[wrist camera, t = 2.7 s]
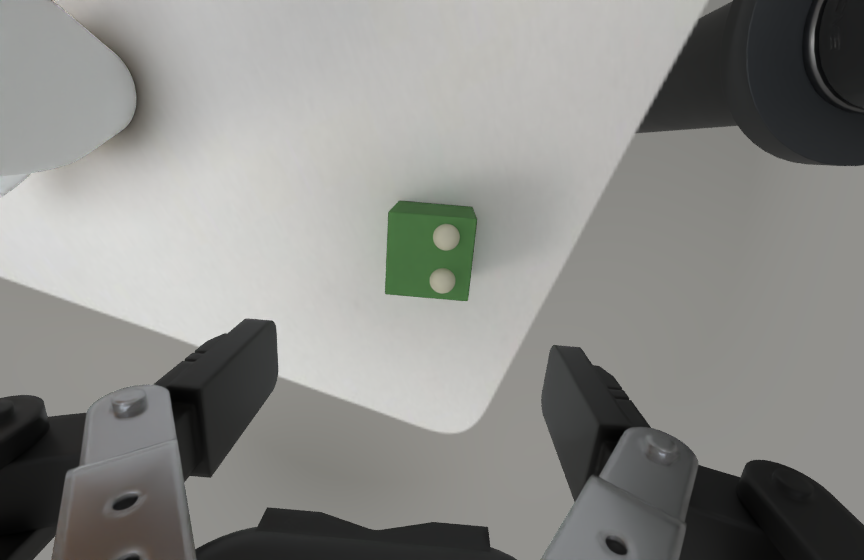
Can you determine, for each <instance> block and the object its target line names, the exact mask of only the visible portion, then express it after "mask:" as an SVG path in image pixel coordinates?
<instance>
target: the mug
mask: <svg viewBox="0 0 864 560" xmlns="http://www.w3.org/2000/svg"><path fill="white" fill-rule="evenodd" d="M135 109H136V89H135V85H134V81H133V79H132V76H131V74H130V72H129V70H128V68H127V67H126V65H125V64H124V62H123V61H122V60H121V59H120V58H119V57H118V56H117V55H116V54H115V53H114V52H113V51H112V50H111V49H109V48H108V47H107V46H106V45H105V44H103V43H102V42H101V41H100V40H99V39H98V38H96V37H95V36H94V35H93V34H92V33H91V32H89V31H88V30H87V29H86V28H85V27H84V26H82V25H81V24H80V23H79V22H78V21H77V20H75V19H74V18H73V17H72V16H71V15H70V14H68V13H67V12H66V11H65V10H64V9H62V8H61V7H60V6H58V5H57V4H56V3H54V2H53V1H52V0H0V197H2V196H4V195H5V194H7V193H8V192H10V191H11V190H13V189H14V188H15V187H16V186H18V185H19V184H20V183H21V182H23V181H24V180H25V179H26V178H27V177H28V176H29V175H30V174H31V173H35V172H41V171H46V170H51V169H55V168H59V167H62V166H65V165H68V164H71V163H73V162H75V161H77V160H79V159H81V158H83V157H84V156H86V155H87V154H89V153H90V152H92V151H93V150H94V149H96V148H97V147H99V146H100V145H102V144H103V143H104V142H106V141H107V140H109V139H110V138H112V137H113V136H114V135H116V134H117V133H119V132H120V131H122V130H123V129H124V128H125V127H126V126H127V125H128V124H129V123H130V121H131V120H132V118H133V115H134V113H135Z"/></svg>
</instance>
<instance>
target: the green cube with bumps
mask: <svg viewBox="0 0 864 560" xmlns="http://www.w3.org/2000/svg"><path fill="white" fill-rule="evenodd" d="M476 225H477V218H476V216H475V213H474V210H473V208H472V207H468V206H456V205H444V204H432V203H420V202H408V201H398V203H397V204H396V205H395V206H394V207H393V208H392V209H391V210H390V211H389V213H388V235H387V259H386V282H385V294H390V295H401V296H413V297H424V298H436V299H447V300H459V301H468V296H469V287H470V278H471V270H472V261H473V252H474V243H475V234H476Z"/></svg>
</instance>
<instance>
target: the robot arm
mask: <svg viewBox="0 0 864 560" xmlns="http://www.w3.org/2000/svg"><path fill="white" fill-rule="evenodd" d="M803 60H804V65H805V69H806V73H807V76H808V78H809V80H810V82H811V84H812V86H813V87H814V89H815V90H816V91H817V93H818V94H819V95H820V96H821V97H822V98H823V99H824V100H825V101H827V102H828V103H830V104H831V105H833V106H835V107H836V108H839V109H841V110H844V111H847V112H851V113H858V114H864V0H813V2H812V4H811V7H810V10H809V12H808V16H807V19H806V23H805V28H804V33H803ZM277 377H278V354H277V333H276V325H275V323H274V322H273V321H269V320H258V319H244V320H243V321H242V322H241V323H239V324H238V325H237V326H236V327H235V328H234V329H232V330H231V331H230V332H229V333H228V334H225V333H224V334H222V335H220V336H218V337H215V338H213V339H211V340H208V341H207V342H205V343H204V344H203V345H202V346H200V347H199V348H198V349H197V350H195V353H192V354H190V355H189V356H188V357H187V358H186V359H185V361H182V362H181V363H179V364H178V365H177V366H176V367H174V368H173V369H172V370H171V371H169V372H168V373H167V374H166V375H165V376H163V377H162V378H161V379H160V380H158V381H157V382H156V383H155V384H153V385H136V386H130V387H126V388H123V389H119V390H117V391H114V392H111V393H109V394H107V395H105V396H103V397H101V398H100V399H98V400H97V401H96V402H94V403H93V404H92V405H91V406H90V407H89V409H88V411H87V413H80V414H70V415H61V416H52V417H47V413H46V409H45V405H44V401H43V400H42V399H41V398H39V397H36V396H30V395H18V396H10V397H4V398H0V560H33V559H34V558H35V557H36V556H37V555H38V553H40V551H41V550H42V549H43V548H44V547H45V546H46V545H47V544H48V543H49V542H50V541H51V540H52V538H54V537H55V542H54V547H53V554H52V560H517V559H515V558H514V557H512V556H510V555H508V554H505V553H504V552H501V551H499V550H497V549H494V548H491V547H490V541H489V532H488V527H482V526H471V525H460V524H449V523H437V522H431V523H425V524H418V525H411V526H405V527H397V528H391V529H384V530H372V529H368V528H365V527H362V526H359V525H357V524H353V523H351V522H348V521H345V520H342V519H339V518H336V517H333V516H331V515H328V514H325V513H322V512H313V511H312V512H311V511H300V510H290V509H279V508H278V509H277V508H267V509H266V511H265V513H264V515H263V517H262V519H261V521H260V523H259V525H258V527H254V528H249V529H245V530H240V531H236V532H233V533H230V534H228V535H225V536H222V537H220V538H217V539H215V540H213V541H211V542H208V543H206V544H205V545H203V546H201V547H199V548H197V549H195V546H194V540H193V534H192V527H191V521H190V515H189V509H188V503H187V496H186V490H185V485H184V482H185V481H186V479H187V478H188V477H189V476H198V477H211V476H212V475H213V474H214V472H215V471H216V469H217V468H218V467H219V465H220V464H221V463H222V461H223V460H224V458H225V457H226V456H227V454H228V453H229V451H230V450H231V449H232V447H233V446H234V444H235V443H236V441H237V440H238V439H239V437H240V436H241V435H242V433H243V432H244V430H245V429H246V427H247V426H248V425H249V423H250V422H251V421H252V419H253V418H254V416H255V415H256V414H257V412H258V411H259V409H260V408H261V407H262V405H263V404H264V402H265V401H266V400H267V398H268V397H269V395H270V394H271V392H272V391H273V389H274V387H275V384H276V381H277ZM541 401H542V412H543V416H544V419H545V421H546V424H547V427H548V430H549V432H550V435H551V438H552V440H553V444H554V446H555V449H556V452H557V454H558V457H559V460H560V463H561V466H562V468H563V471H564V473H565V477H566V479H567V482H568V485H569V488H570V490H571V493H572V496H573V499H574V501H575V503H574V504H573V506H572V508H571V510H570V511H569V513H568V514H567V516H566V518H565V519H564V521H563V523H562V524H561V526H560V528H559V529H558V531H557V533H556V535H555V536H554V538H553V540H552V541H551V543H550V545H549V546H548V548H547V550H546V551H545V553H544V555H543V556H542V558H541V560H864V525H863V524H862V523H861V522H860V521H859V520H858V519H857V518H856V517H855V516H854V515H852V513H851V512H849V511H848V510H847V509H846V508H845V507H844V506H843V505H842V504H841V503H840V502H839V501H838V500H837V499H836V498H835V497H834V496H833V495H832V494H831V493H830V492H828V491H827V490H826V489H825V488H824V487H823V486H821V485H820V484H819V483H817V482H816V481H814V480H812V479H811V478H810V477H808V476H806V475H804V474H803V473H801V472H798V471H797V470H794V469H792V468H790V467H787V466H785V465H782V464H779V463H775V462H771V461H766V460H753V461H750V462H748V463H747V464H746V465H745V468H744V470H743V473H742V475H741V478H740V477H737V476H734V475H730V474H726V473H723V472H720V471H717V470H713V469H710V468H706V467H703V466H700V465H698V460H697V458H696V456H695V454H694V453H693V452H692V450H690V449H689V447H688V446H686V445H685V444H684V443H683V442H681V441H680V440H678V439H677V438H675V437H673V436H671V435H669V434H667V433H665V432H662V431H660V430H656V429H653V428H651V427H650V426H649V424H648V423H647V422H646V420H645V419H644V418H643V416H642V415H641V413H640V412H639V411H638V410H637V408H636V407H635V405H634V404H633V403H632V401H631V400H629V397H628V396H627V394H626V393H625V392H624V391H623V390H622V387H621V386H620V385H619V384H618V382H617V381H616V379H615V378H614V377H613V376H612V375H611V374H609V373H608V372H606V371H605V370H604V369H602V368H601V367H600V366H594V365H592V364H591V362H590V361H589V359H588V358H587V356H586V355H585V353H584V352H583V350H582V349H581V348H580V347H570V346H557V345H553V346H552V348H551V350H550V353H549V359H548V364H547V370H546V374H545V380H544V385H543V390H542V399H541ZM55 535H56V536H55Z"/></svg>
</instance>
